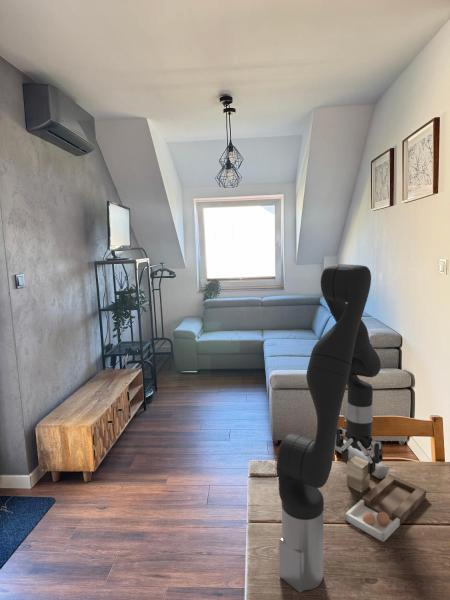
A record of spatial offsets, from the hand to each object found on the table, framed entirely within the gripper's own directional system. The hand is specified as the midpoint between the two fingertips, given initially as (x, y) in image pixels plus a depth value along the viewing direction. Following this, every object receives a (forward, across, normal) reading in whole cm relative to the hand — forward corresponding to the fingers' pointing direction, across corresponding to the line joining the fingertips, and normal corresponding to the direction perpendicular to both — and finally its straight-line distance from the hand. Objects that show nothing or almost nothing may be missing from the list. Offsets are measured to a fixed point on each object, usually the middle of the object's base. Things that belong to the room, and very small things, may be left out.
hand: (357, 467), depth 122 cm
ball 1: (+6, +11, -14) cm, 19 cm away
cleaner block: (+7, 0, +1) cm, 7 cm away
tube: (+6, -8, +12) cm, 16 cm away
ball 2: (+5, +12, -11) cm, 17 cm away
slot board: (+6, +11, +1) cm, 13 cm away
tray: (+7, +11, -11) cm, 17 cm away
